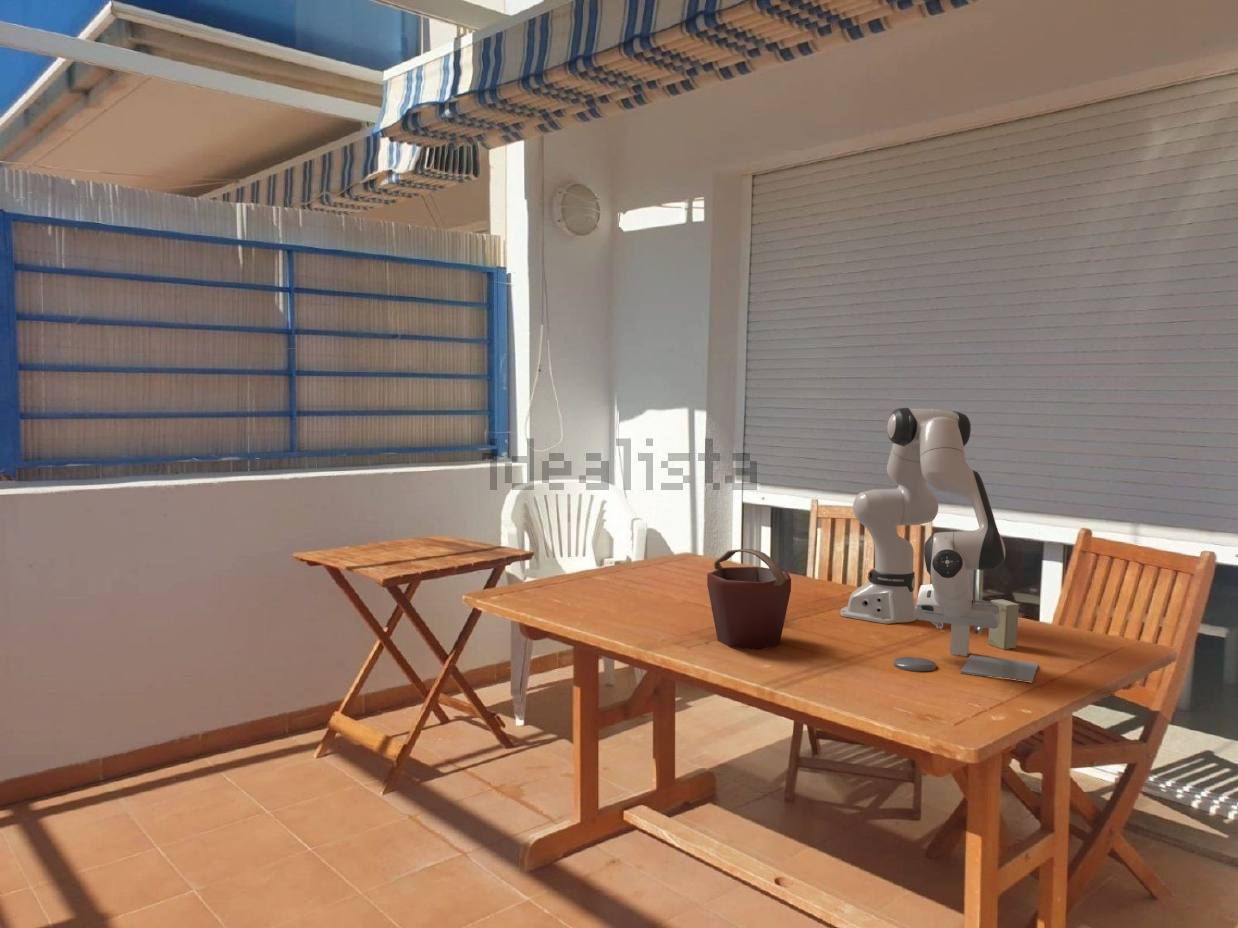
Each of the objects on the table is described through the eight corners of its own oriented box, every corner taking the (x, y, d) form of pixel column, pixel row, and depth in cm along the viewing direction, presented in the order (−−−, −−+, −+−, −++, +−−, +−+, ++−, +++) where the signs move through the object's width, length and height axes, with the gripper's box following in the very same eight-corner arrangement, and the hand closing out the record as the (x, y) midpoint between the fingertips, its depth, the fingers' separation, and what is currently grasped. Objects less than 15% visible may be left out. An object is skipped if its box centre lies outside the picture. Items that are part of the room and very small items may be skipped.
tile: (960, 673, 227) (960, 670, 227) (970, 656, 241) (970, 654, 241) (1032, 683, 219) (1032, 680, 219) (1038, 665, 233) (1038, 663, 233)
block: (950, 654, 243) (951, 620, 242) (952, 650, 247) (953, 617, 246) (966, 656, 241) (967, 622, 240) (968, 652, 245) (969, 618, 244)
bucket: (695, 633, 263) (695, 545, 261) (764, 626, 271) (765, 541, 269) (735, 656, 240) (737, 560, 238) (810, 648, 248) (811, 555, 246)
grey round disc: (889, 667, 231) (889, 664, 231) (898, 657, 240) (898, 654, 240) (931, 674, 226) (931, 670, 226) (939, 663, 235) (939, 660, 235)
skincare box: (987, 644, 253) (989, 599, 252) (1000, 642, 255) (1002, 598, 254) (1004, 650, 247) (1006, 604, 246) (1017, 648, 249) (1019, 603, 248)
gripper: (999, 592, 229) (1003, 623, 239) (914, 584, 239) (920, 613, 249) (996, 614, 226) (1000, 644, 235) (910, 604, 236) (916, 634, 245)
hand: (958, 628), depth 242 cm, fingers open, 8 cm apart
